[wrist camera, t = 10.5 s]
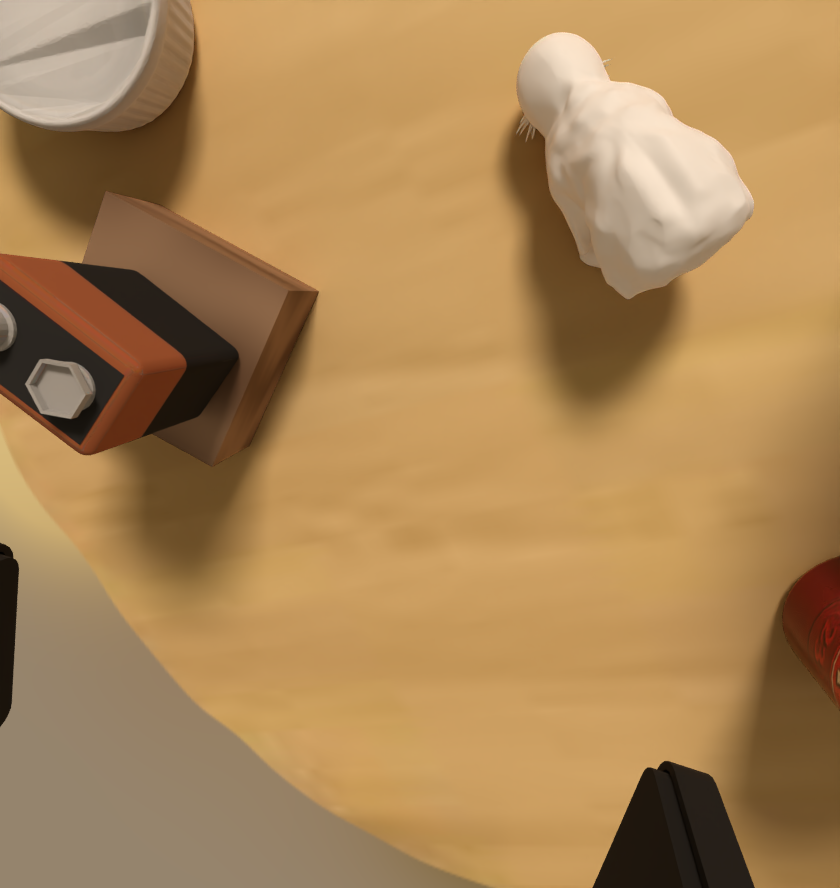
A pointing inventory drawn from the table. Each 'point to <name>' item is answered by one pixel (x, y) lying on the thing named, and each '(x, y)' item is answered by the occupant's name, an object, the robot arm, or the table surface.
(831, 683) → the soda can
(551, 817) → the table surface
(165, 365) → the battery
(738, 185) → the white lumpy figurine
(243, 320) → the walnut block
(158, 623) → the table surface
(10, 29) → the ramekin
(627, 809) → the robot arm
